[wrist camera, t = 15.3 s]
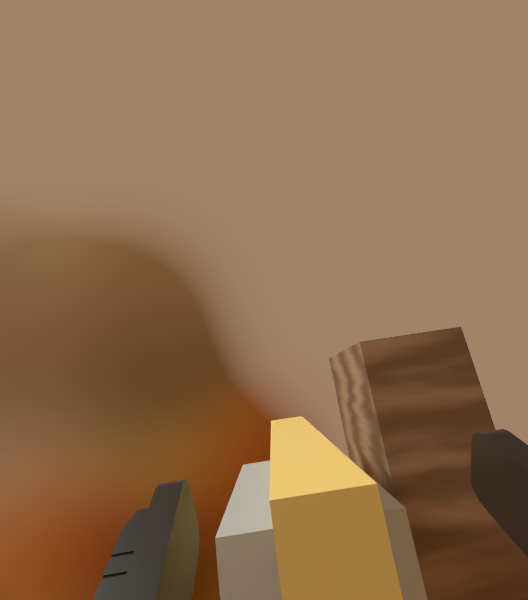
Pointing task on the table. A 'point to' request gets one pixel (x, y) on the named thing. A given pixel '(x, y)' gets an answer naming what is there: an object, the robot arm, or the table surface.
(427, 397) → the stand
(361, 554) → the rail
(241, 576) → the block
